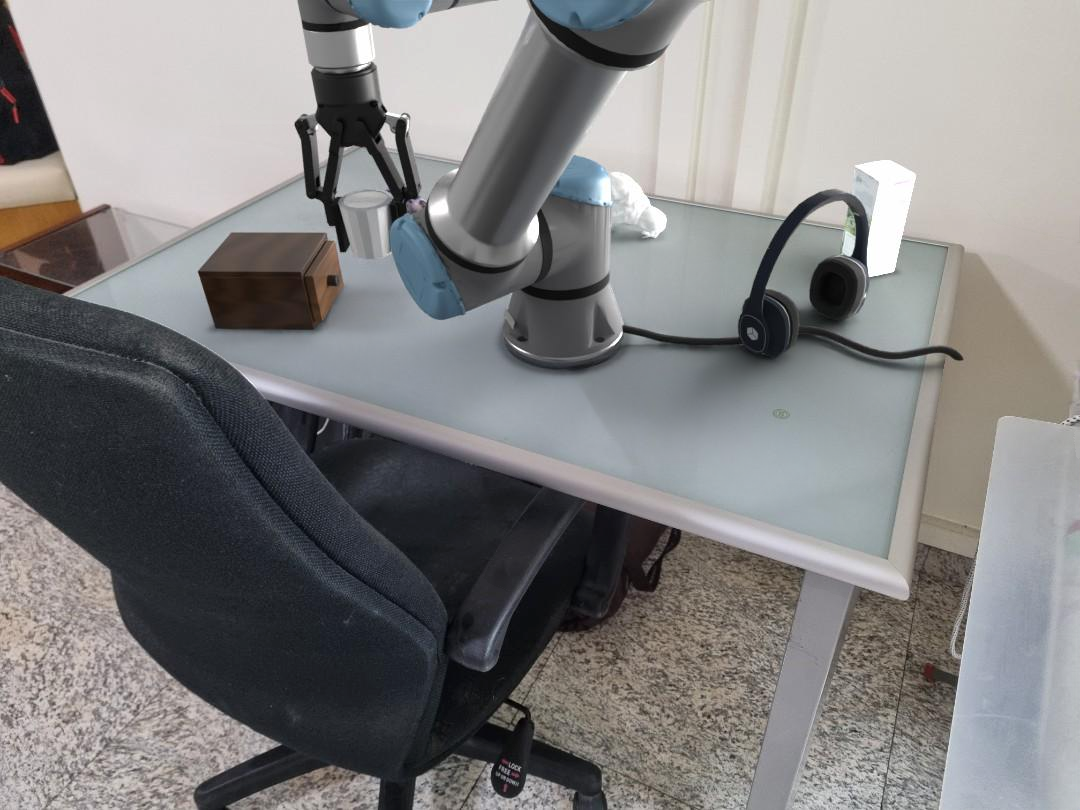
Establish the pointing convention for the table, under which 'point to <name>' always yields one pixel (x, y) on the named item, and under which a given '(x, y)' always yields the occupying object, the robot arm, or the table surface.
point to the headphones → (832, 288)
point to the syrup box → (880, 212)
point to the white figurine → (633, 206)
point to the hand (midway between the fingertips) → (373, 247)
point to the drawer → (323, 280)
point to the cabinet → (261, 280)
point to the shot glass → (368, 222)
